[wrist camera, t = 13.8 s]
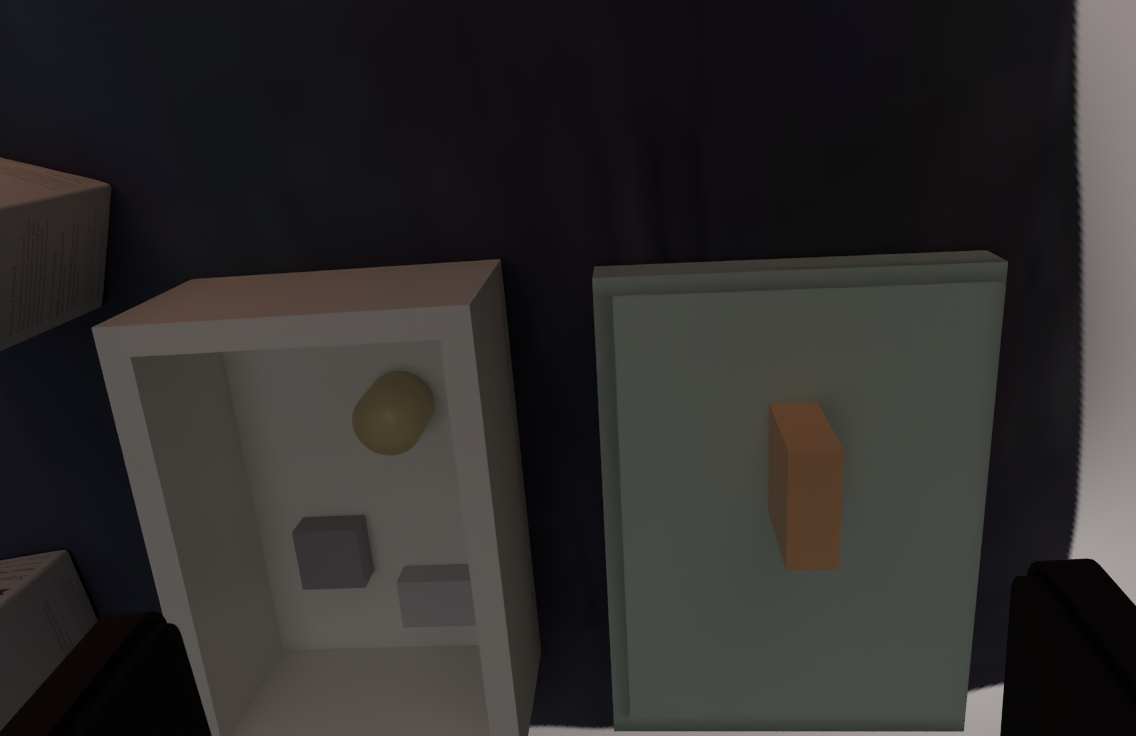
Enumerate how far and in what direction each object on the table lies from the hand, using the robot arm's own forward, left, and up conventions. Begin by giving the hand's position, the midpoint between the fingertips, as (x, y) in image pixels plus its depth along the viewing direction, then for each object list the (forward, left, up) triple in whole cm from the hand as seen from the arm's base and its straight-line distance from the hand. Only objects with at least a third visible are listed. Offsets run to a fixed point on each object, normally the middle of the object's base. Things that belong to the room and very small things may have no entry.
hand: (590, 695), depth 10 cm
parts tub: (+11, -12, -30) cm, 34 cm away
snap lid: (+13, +7, -30) cm, 34 cm away
